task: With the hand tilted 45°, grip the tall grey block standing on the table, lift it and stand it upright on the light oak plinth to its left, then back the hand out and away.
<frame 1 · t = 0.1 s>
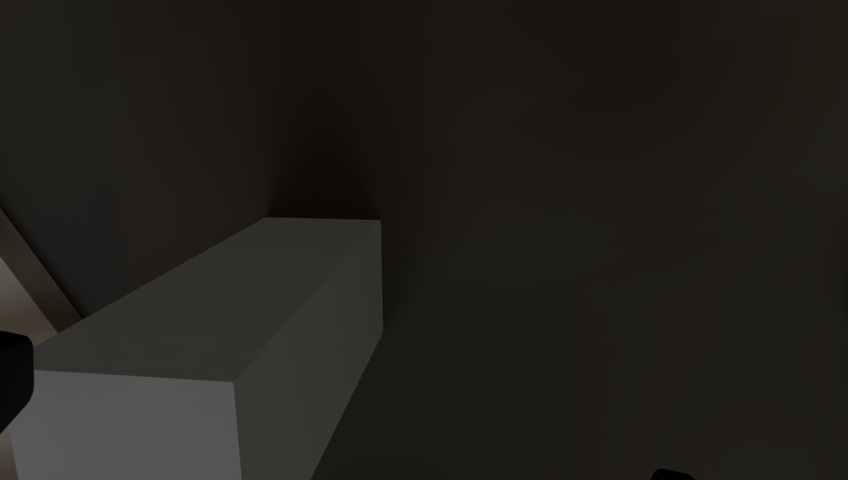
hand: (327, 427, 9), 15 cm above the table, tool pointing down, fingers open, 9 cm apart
tall grey block: (325, 275, 24), on the table
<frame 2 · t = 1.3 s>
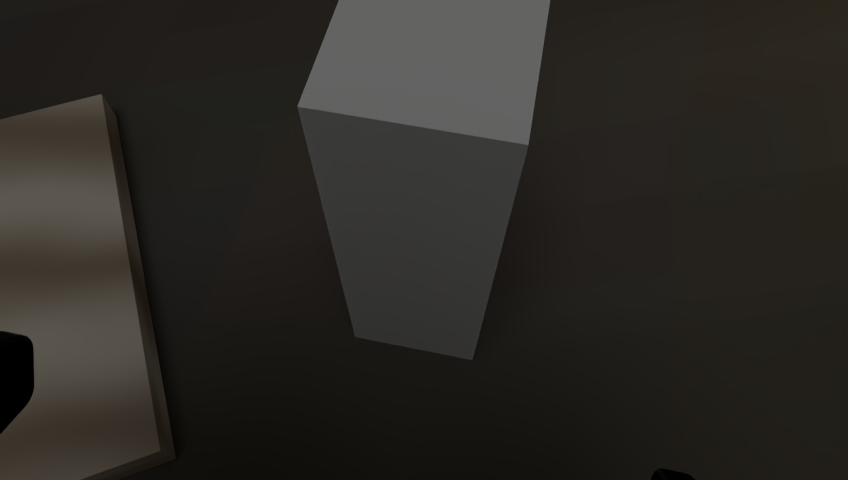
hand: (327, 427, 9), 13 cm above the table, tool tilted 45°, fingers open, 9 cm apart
tall grey block: (425, 294, 24), on the table
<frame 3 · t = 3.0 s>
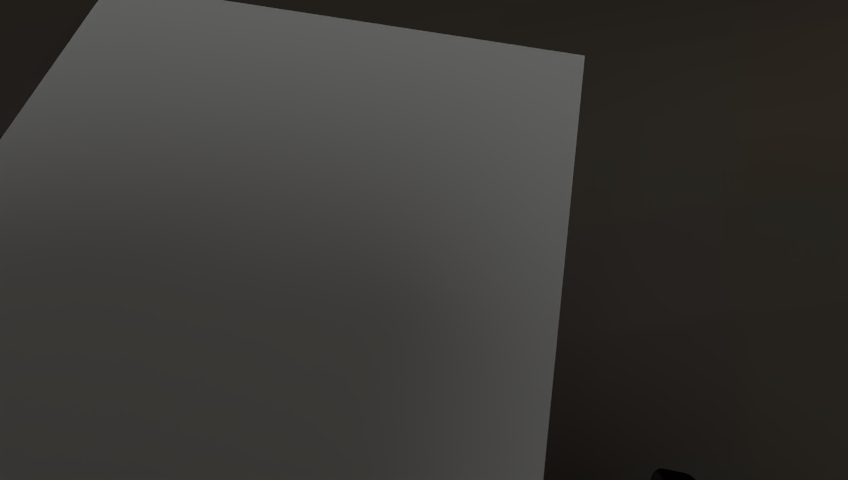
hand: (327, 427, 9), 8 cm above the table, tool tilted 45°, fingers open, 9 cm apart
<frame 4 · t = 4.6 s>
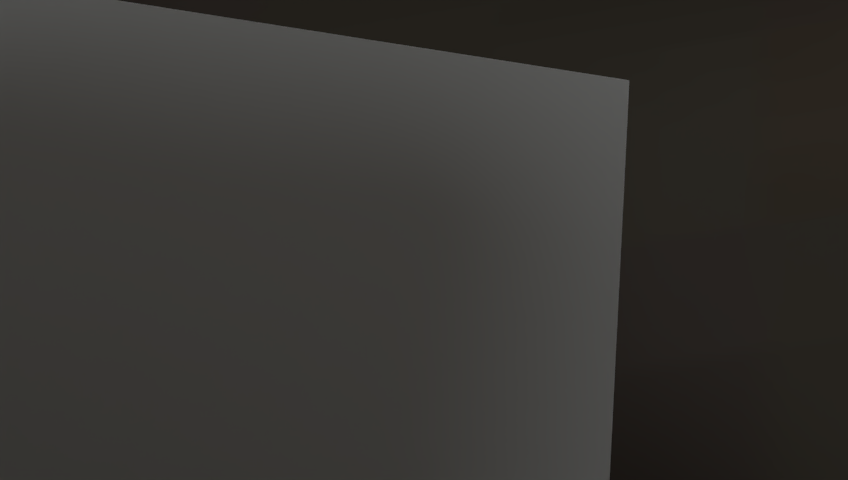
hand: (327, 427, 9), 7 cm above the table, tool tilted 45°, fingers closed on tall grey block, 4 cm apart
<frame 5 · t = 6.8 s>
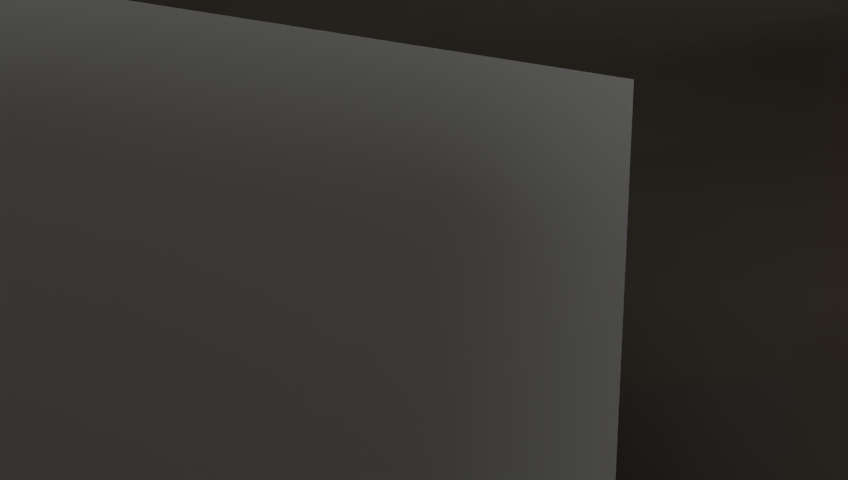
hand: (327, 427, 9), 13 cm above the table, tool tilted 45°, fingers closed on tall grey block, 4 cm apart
when the fingers open (9 cm above the table, at t = 9.3 s): tall grey block drops 1 cm, resting on oak plinth.
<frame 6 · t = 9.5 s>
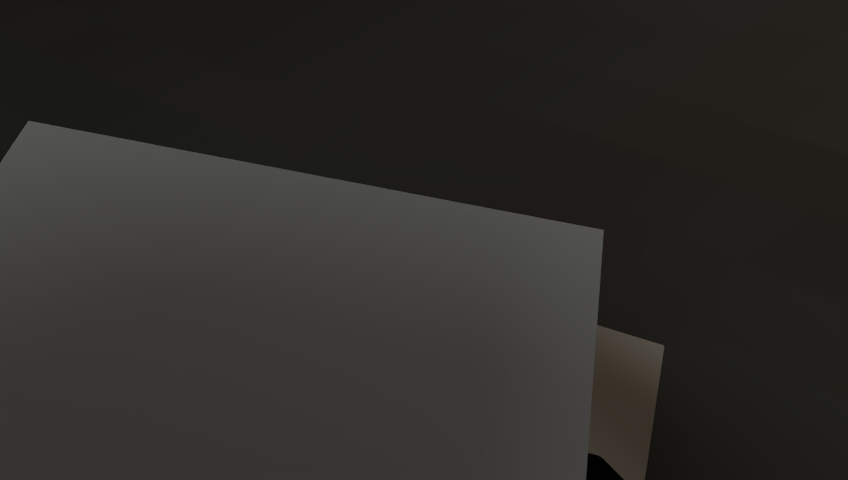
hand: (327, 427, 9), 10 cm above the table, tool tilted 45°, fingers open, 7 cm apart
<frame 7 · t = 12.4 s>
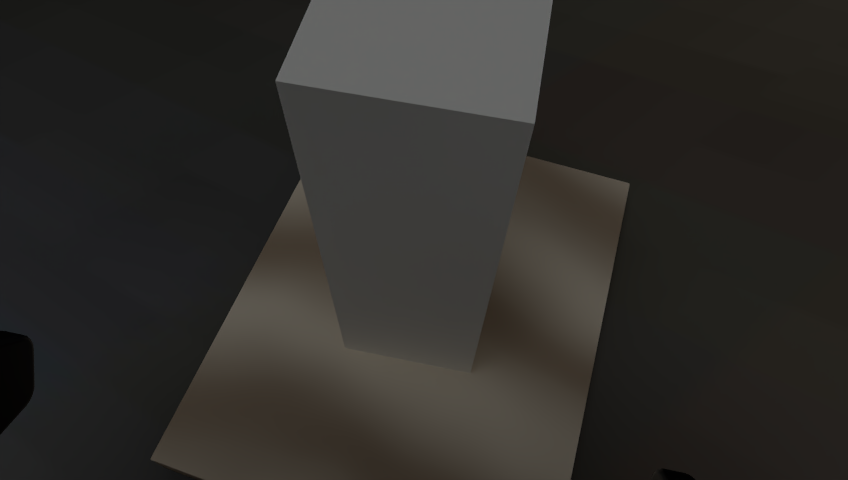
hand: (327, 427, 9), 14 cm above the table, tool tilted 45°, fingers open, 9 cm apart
tall grey block: (420, 303, 23), point 1 cm above the table, touching oak plinth
oak plinth: (420, 319, 24), on the table
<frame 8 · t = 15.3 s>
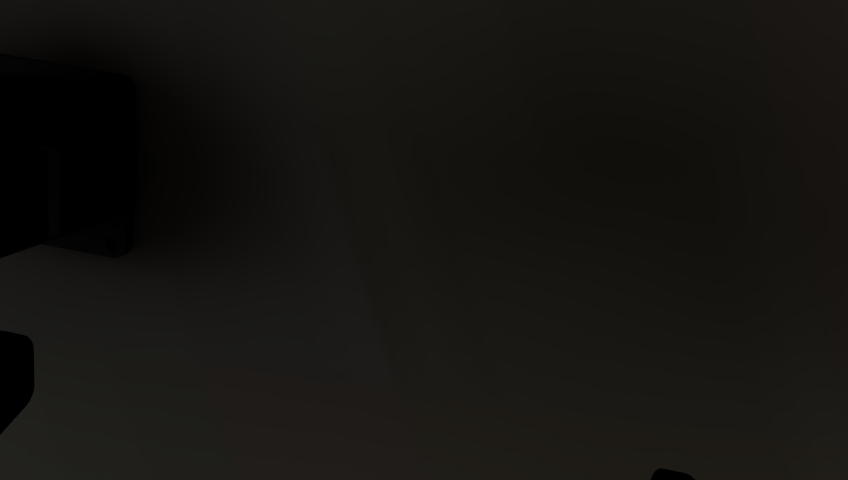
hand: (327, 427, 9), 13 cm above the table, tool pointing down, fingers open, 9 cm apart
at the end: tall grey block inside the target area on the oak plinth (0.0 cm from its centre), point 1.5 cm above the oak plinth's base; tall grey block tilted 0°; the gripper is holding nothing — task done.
